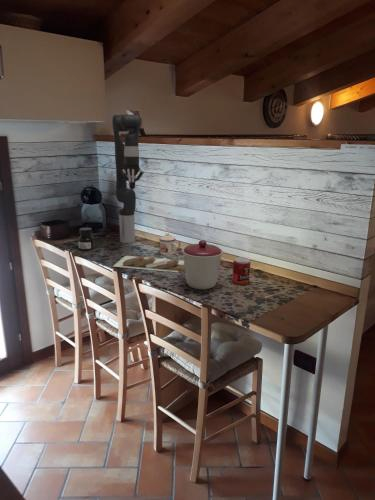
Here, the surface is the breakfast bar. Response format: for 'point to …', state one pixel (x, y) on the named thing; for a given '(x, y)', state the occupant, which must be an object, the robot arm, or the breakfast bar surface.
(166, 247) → the teacup with lid
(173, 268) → the domino
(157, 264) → the domino
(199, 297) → the breakfast bar surface
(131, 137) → the robot arm
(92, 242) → the ink bottle
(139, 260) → the domino
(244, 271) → the canned food
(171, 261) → the domino
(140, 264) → the domino
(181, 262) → the mat
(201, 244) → the canister
